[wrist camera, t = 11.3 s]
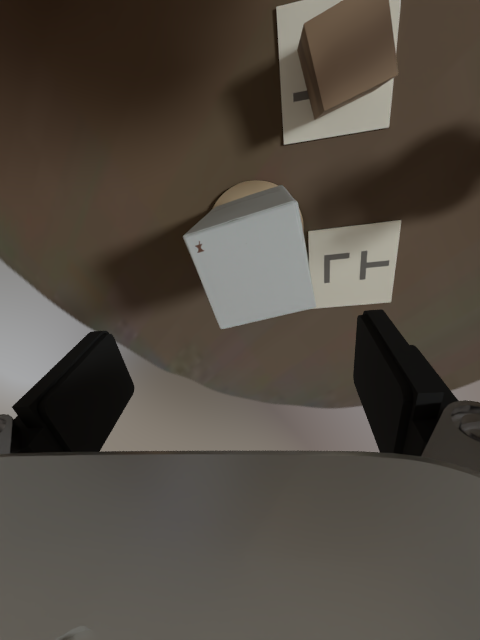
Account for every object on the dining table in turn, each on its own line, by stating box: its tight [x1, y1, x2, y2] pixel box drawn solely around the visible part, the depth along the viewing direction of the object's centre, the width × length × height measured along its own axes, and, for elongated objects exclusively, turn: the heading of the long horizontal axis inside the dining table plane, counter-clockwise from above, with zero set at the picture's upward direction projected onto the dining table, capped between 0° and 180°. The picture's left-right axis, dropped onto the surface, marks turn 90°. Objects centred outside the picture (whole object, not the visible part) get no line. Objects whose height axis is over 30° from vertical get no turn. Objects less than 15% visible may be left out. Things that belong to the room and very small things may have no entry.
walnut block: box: [297, 0, 398, 120], centre depth 21 cm, size 5×5×5 cm
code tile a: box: [308, 220, 401, 309], centre depth 31 cm, size 9×9×1 cm
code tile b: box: [276, 0, 401, 145], centre depth 23 cm, size 9×9×1 cm
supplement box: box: [183, 185, 316, 329], centre depth 24 cm, size 7×7×13 cm
